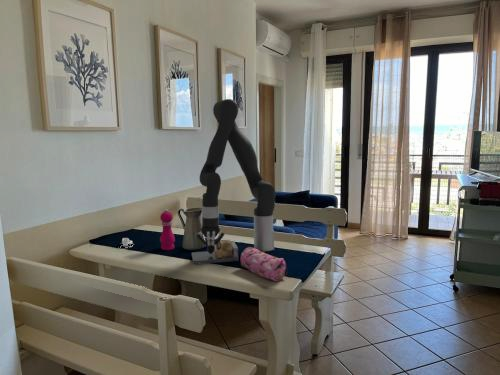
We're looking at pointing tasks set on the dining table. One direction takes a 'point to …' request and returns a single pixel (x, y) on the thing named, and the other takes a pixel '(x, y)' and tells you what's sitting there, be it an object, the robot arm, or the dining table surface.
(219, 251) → the sliding jaw
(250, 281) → the dining table surface
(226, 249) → the oak block
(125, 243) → the white looped part
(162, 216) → the pepper mill
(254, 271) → the pencil case
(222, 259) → the vise base
